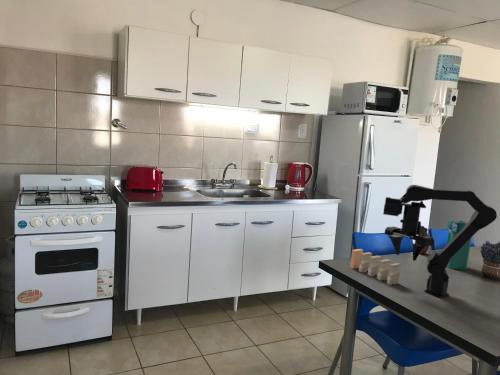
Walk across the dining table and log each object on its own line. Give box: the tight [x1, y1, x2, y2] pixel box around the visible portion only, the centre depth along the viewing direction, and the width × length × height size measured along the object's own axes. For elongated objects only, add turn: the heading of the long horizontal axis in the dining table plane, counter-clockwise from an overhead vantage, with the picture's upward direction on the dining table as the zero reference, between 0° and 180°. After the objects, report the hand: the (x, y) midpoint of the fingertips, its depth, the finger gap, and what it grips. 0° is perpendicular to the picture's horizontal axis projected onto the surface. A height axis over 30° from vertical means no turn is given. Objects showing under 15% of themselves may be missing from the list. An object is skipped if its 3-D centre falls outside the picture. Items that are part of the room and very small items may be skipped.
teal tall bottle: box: [446, 218, 473, 271], centre depth 196 cm, size 10×8×22 cm
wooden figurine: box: [414, 225, 429, 255], centre depth 216 cm, size 7×6×15 cm
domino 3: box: [367, 255, 382, 277], centre depth 175 cm, size 2×5×8 cm, turn 122°
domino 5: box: [386, 262, 402, 286], centre depth 166 cm, size 2×5×8 cm, turn 122°
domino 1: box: [349, 248, 364, 269], centre depth 183 cm, size 2×5×8 cm, turn 122°
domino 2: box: [358, 251, 373, 273], centre depth 179 cm, size 2×5×8 cm, turn 122°
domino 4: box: [376, 258, 392, 281], centre depth 171 cm, size 2×5×8 cm, turn 122°
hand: (405, 257), depth 162 cm, fingers open, 7 cm apart
